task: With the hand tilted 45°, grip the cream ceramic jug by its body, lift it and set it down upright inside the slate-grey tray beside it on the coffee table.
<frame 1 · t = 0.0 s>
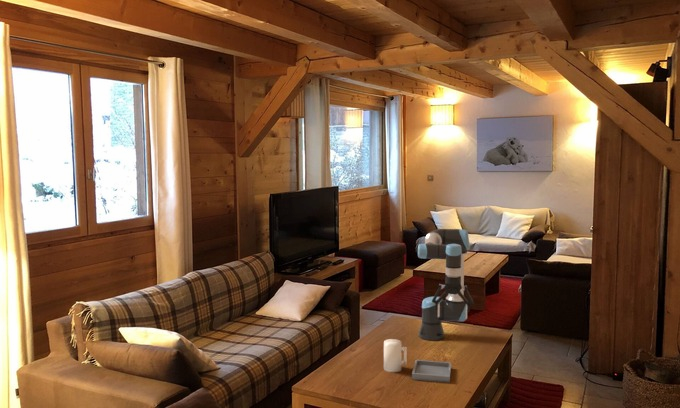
hand: (452, 317, 282), 28 cm above the table, tool pointing down, fingers open, 13 cm apart
slate tray: (431, 373, 282), on the table
cream jug: (392, 368, 288), on the table
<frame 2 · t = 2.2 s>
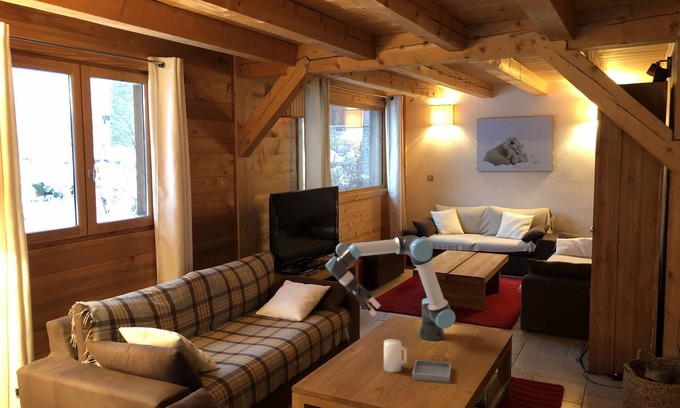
hand: (377, 310, 300), 26 cm above the table, tool tilted 45°, fingers open, 13 cm apart
nothing on the table moved.
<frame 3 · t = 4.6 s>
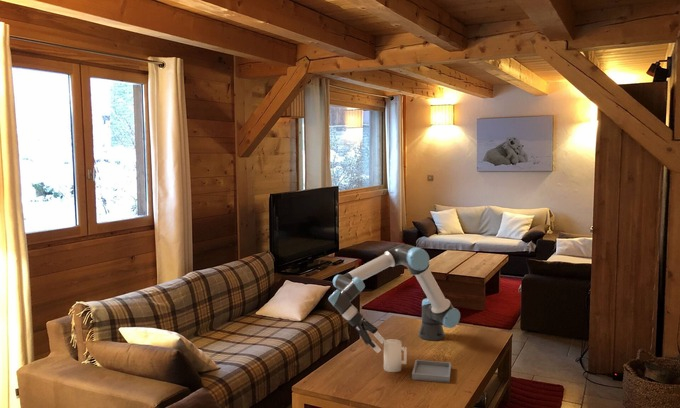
hand: (381, 346, 287), 11 cm above the table, tool tilted 45°, fingers open, 13 cm apart
nothing on the table moved.
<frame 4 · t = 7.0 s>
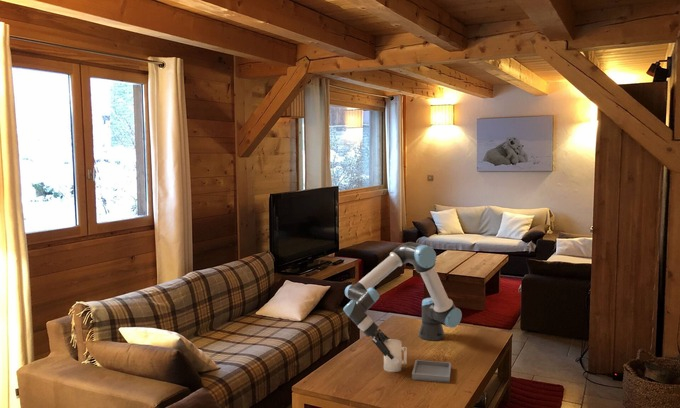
hand: (398, 359, 287), 5 cm above the table, tool tilted 45°, fingers closed on cream jug, 9 cm apart
cream jug: (392, 368, 288), on the table, touching gripper
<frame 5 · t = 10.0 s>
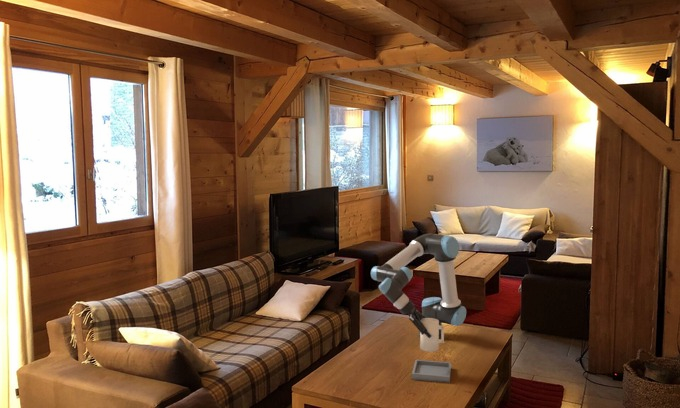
hand: (436, 338, 279), 19 cm above the table, tool tilted 45°, fingers closed on cream jug, 9 cm apart
cream jug: (429, 348, 280), point 13 cm above the table, touching gripper
when the fingers open (8 cm above the table, at t = 13.1 s): cream jug drops 1 cm, resting on slate tray.
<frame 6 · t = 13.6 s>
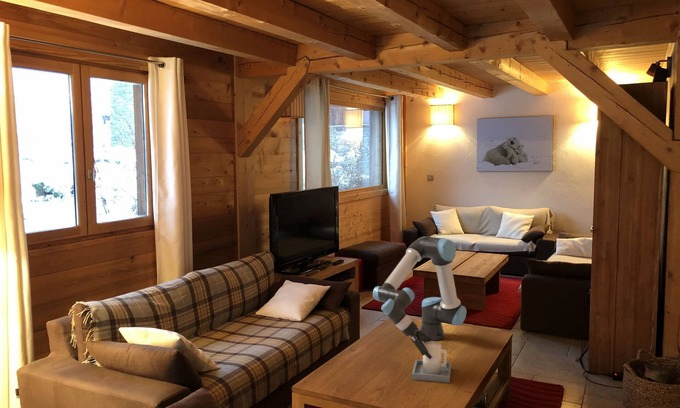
hand: (436, 357, 280), 9 cm above the table, tool tilted 45°, fingers open, 13 cm apart
cream jug: (431, 371, 281), point 1 cm above the table, touching slate tray
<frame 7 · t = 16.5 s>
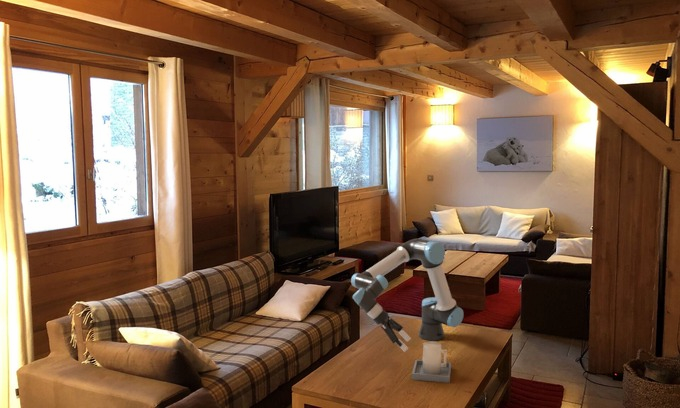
hand: (407, 345, 283), 14 cm above the table, tool tilted 45°, fingers open, 13 cm apart
nothing on the table moved.
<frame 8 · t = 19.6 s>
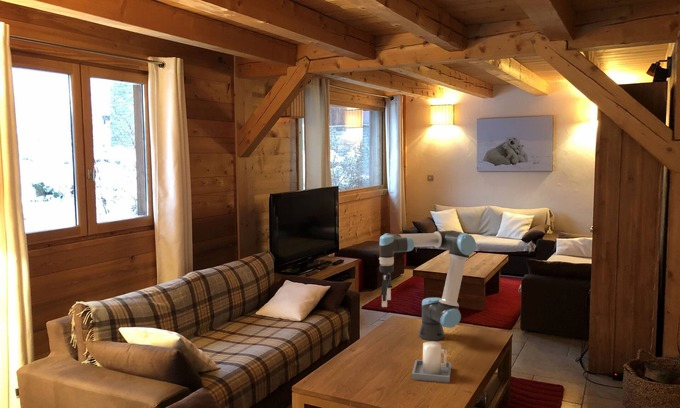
hand: (386, 303, 304), 29 cm above the table, tool pointing down, fingers open, 13 cm apart
nothing on the table moved.
at the end: cream jug inside the target area on the slate tray (0.1 cm from its centre), point 1.0 cm above the slate tray's base; cream jug tilted 0°; the gripper is holding nothing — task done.
